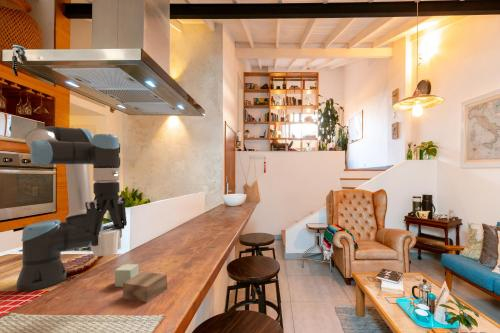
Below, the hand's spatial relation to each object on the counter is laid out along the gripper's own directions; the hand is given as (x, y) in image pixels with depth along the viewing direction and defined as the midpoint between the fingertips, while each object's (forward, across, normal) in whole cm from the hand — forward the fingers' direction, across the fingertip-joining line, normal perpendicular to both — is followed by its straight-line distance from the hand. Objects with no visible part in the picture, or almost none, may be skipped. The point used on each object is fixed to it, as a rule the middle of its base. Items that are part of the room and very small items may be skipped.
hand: (107, 251), depth 86 cm
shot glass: (+1, 0, 0) cm, 1 cm away
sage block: (+16, +13, +5) cm, 21 cm away
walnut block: (+16, +8, -8) cm, 20 cm away
